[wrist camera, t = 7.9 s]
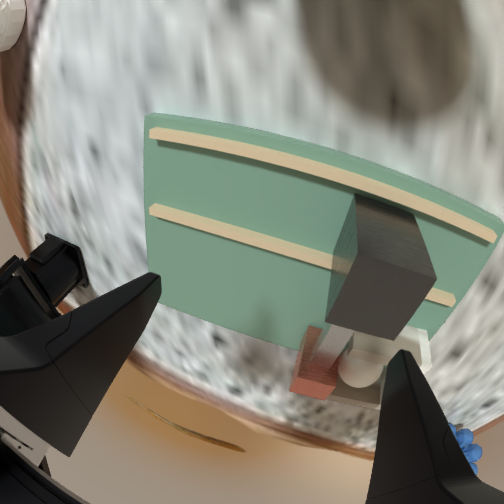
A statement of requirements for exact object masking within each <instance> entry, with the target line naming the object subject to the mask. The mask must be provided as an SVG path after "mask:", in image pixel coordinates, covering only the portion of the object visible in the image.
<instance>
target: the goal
mask: <svg viewBox="0 0 504 504" xmlns="http://www.w3.org/2000/svg"><path fill="white" fill-rule="evenodd" d="M400 349H404V350H408V351H410V352H411V353H412V355H413V357H414V358H415V360H416V362H417V364H418V366H419V367H420V369H421V371H422V373H423V375H424V374H425V373H426V372H427V371H428V370H429V369H430V368H431V367H432V363H431V355H430V347H429V341H428V334H427V330H423V329H419V328H415V327H412V326H408V325H406V326H405V327H404V328H403V330H402V331H401V332H400V334H399V335H398V336H397V338H396V339H395V340H394V341H392V340H388V339H384V338H380V337H377V336H373V335H369V334H365V333H362V332H358V331H355V332H354V333H353V335H352V336H351V338H350V339H349V344H348V356H349V357H353V358H357V359H361V360H365V361H369V362H374V363H378V364H382V365H386V367H385V368H384V369H383V371H382V373H381V375H380V377H379V378H378V379H377V380H376V381H375V382H374V383H373V384H371V385H369V386H367V387H363V388H356V387H352V386H349V385H348V384H346V383H345V382H344V381H343V380H342V379H341V377H340V375H339V372H338V374H337V382H336V387H335V388H334V390H333V391H332V392H331V393H330V394H329V395H328V397H327V398H326V399H328V400H332V401H337V402H341V403H346V404H350V405H355V406H360V407H366V408H371V409H377V410H380V408H381V400H382V394H383V389H384V383H385V377H386V371H387V366H388V363H389V361H390V360H391V359H392V358H393V357H394V355H395V354H396V353H397V352H398V351H399V350H400Z"/></svg>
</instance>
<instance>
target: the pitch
mask: <svg viewBox="0 0 504 504" xmlns="http://www.w3.org/2000/svg"><path fill="white" fill-rule="evenodd" d="M354 193H356V194H359V195H362V196H365V197H368V198H371V199H374V200H377V201H380V202H383V203H385V204H388V205H391V206H394V207H396V208H399V209H402V210H405V211H407V212H410V213H412V214H414V217H415V219H416V221H417V224H418V226H419V229H420V232H421V234H422V237H423V239H424V242H425V245H426V247H427V250H428V253H429V256H430V259H431V262H432V265H433V268H434V271H435V274H436V277H437V281H436V282H435V284H434V285H433V287H432V288H431V290H430V291H429V293H428V294H427V296H426V297H425V299H424V300H423V302H422V303H421V305H420V306H419V308H418V309H417V311H416V312H415V313H414V315H413V316H412V318H411V319H410V320H409V322H408V323H407V324H406V325H408V326H412V327H415V328H419V329H423V330H427V334H428V341H429V340H430V339H431V338H432V337H433V336H434V334H435V333H436V332H437V331H438V330H439V328H440V327H441V326H442V325H443V323H444V322H445V321H446V320H447V318H448V317H449V316H450V314H451V313H452V312H453V310H454V309H455V308H456V306H457V305H458V304H459V302H460V301H461V300H462V298H463V297H464V295H465V294H466V293H467V291H468V290H469V288H470V287H471V285H472V284H473V282H474V281H475V279H476V278H477V276H478V275H479V273H480V272H481V270H482V269H483V267H484V265H485V264H486V262H487V260H488V259H489V257H490V255H491V254H492V252H493V250H494V249H495V247H496V245H497V243H498V242H499V240H500V238H501V236H502V234H503V233H504V223H503V221H502V220H501V219H500V218H498V217H497V216H495V215H493V214H491V213H489V212H487V211H485V210H483V209H481V208H479V207H477V206H475V205H473V204H471V203H469V202H467V201H465V200H463V199H461V198H459V197H457V196H455V195H452V194H450V193H448V192H446V191H444V190H441V189H439V188H437V187H435V186H432V185H430V184H428V183H425V182H423V181H420V180H418V179H415V178H413V177H411V176H408V175H405V174H403V173H400V172H398V171H395V170H392V169H390V168H387V167H384V166H382V165H379V164H376V163H373V162H370V161H367V160H364V159H361V158H358V157H355V156H352V155H349V154H346V153H343V152H340V151H336V150H333V149H330V148H327V147H323V146H320V145H316V144H313V143H309V142H305V141H302V140H298V139H294V138H290V137H286V136H282V135H278V134H274V133H269V132H265V131H261V130H256V129H252V128H247V127H242V126H237V125H232V124H226V123H221V122H215V121H210V120H204V119H197V118H191V117H184V116H176V115H169V114H160V113H152V114H149V115H146V116H145V120H144V209H145V229H146V244H147V257H148V269H149V272H153V273H156V274H159V275H160V276H161V284H162V293H161V297H160V299H159V301H158V303H161V304H163V305H166V306H168V307H171V308H174V309H176V310H179V311H181V312H184V313H187V314H189V315H192V316H195V317H197V318H200V319H203V320H205V321H208V322H211V323H214V324H217V325H219V326H222V327H225V328H228V329H231V330H234V331H237V332H240V333H243V334H246V335H249V336H252V337H255V338H258V339H261V340H264V341H268V342H271V343H274V344H277V345H280V346H284V347H287V348H290V349H294V350H297V351H299V347H300V342H301V340H302V338H303V336H304V334H305V332H306V330H307V328H308V325H309V326H313V327H316V328H320V329H323V328H324V326H325V324H326V322H325V315H326V308H327V300H328V293H329V285H330V276H331V267H332V258H333V251H334V248H335V245H336V243H337V240H338V238H339V235H340V232H341V230H342V227H343V224H344V221H345V219H346V216H347V213H348V210H349V208H350V205H351V202H352V199H353V196H354ZM348 344H349V341H348V342H347V344H346V345H345V347H344V348H343V350H342V351H341V353H340V356H341V354H342V352H343V351H344V350H345V349H346V348H347V347H348ZM385 367H386V365H384V367H383V369H384V368H385Z"/></svg>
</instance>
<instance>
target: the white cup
mask: <svg viewBox="0 0 504 504" xmlns="http://www.w3.org/2000/svg"><path fill="white" fill-rule="evenodd" d="M25 15H26V5H25V0H0V52H2V51H5V50H9V49H10V48H11V47H12V46H13V45H14V44H15V43H16V42H17V40H18V38H19V36H20V34H21V32H22V28H23V25H24V22H25Z"/></svg>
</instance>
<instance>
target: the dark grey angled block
mask: <svg viewBox="0 0 504 504" xmlns="http://www.w3.org/2000/svg"><path fill="white" fill-rule="evenodd" d="M436 281H437V277H436V274H435V271H434V268H433V265H432V262H431V259H430V256H429V253H428V250H427V247H426V245H425V242H424V239H423V237H422V234H421V232H420V229H419V226H418V224H417V221H416V219H415V217H414V214H412V213H410V212H407V211H405V210H402V209H399V208H396V207H394V206H391V205H388V204H385V203H383V202H380V201H377V200H374V199H371V198H368V197H365V196H362V195H359V194H356V193H354V196H353V199H352V202H351V205H350V208H349V210H348V213H347V216H346V219H345V221H344V224H343V227H342V230H341V232H340V235H339V238H338V240H337V243H336V245H335V248H334V251H333V258H332V267H331V276H330V285H329V293H328V300H327V308H326V315H325V322H326V324H325V326H324V328H323V329H320V328H316V327H313V326H309V325H308V328H307V330H306V332H305V334H304V336H303V338H302V340H301V342H300V347H299V351H298V355H297V360H296V364H295V368H294V372H293V376H292V380H291V384H290V388H289V391H291V392H294V393H298V394H302V395H306V396H309V397H313V398H317V399H322V400H325V399H326V398H327V397H328V395H329V394H330V393H331V392H332V391H333V390H334V388H335V387H336V382H337V374H338V366H339V358H340V353H341V351H342V350H343V348H344V347H345V345H346V344H347V342H348V341H349V339H350V338H351V336H352V335H353V333H354V332H355V331H358V332H362V333H365V334H369V335H373V336H377V337H380V338H384V339H388V340H392V341H394V340H395V339H396V338H397V336H398V335H399V334H400V332H401V331H402V330H403V328H404V327H405V326H406V324H407V323H408V322H409V320H410V319H411V318H412V316H413V315H414V313H415V312H416V311H417V309H418V308H419V306H420V305H421V303H422V302H423V300H424V299H425V297H426V296H427V294H428V293H429V291H430V290H431V288H432V287H433V285H434V284H435V282H436Z"/></svg>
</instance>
